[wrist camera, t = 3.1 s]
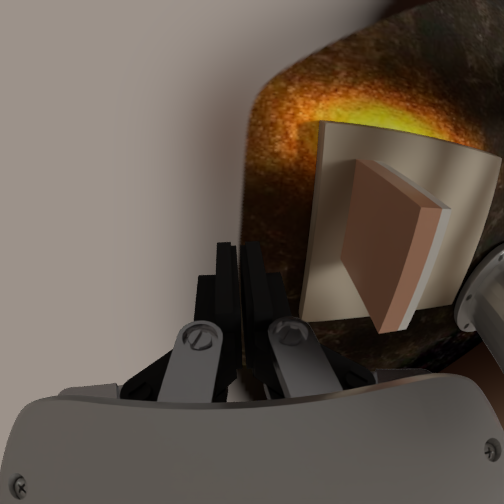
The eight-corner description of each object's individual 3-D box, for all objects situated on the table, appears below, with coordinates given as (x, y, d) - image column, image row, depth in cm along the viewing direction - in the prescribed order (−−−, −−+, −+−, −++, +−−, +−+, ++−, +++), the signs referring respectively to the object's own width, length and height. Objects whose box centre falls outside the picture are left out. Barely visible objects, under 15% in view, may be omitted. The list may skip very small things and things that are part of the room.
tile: (382, 161, 16) (452, 209, 10) (363, 257, 20) (406, 329, 14) (356, 158, 16) (421, 207, 10) (340, 258, 19) (378, 333, 14)
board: (492, 153, 16) (501, 158, 15) (446, 296, 24) (451, 304, 23) (319, 120, 16) (325, 122, 14) (298, 312, 24) (301, 322, 22)
